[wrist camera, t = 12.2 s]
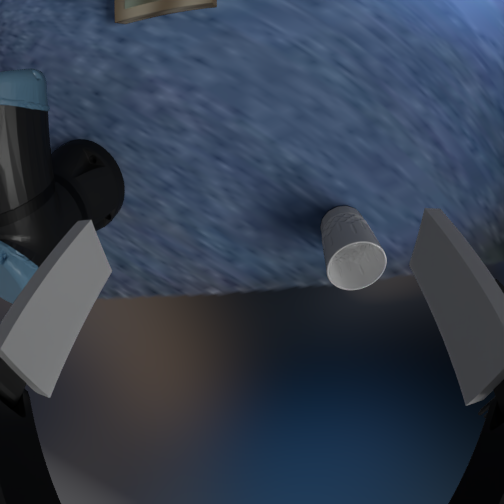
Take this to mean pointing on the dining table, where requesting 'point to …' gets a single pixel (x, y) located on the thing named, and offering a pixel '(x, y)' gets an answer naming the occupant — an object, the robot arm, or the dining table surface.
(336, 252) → the white cup
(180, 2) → the plinth
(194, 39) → the dining table surface
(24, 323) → the robot arm
